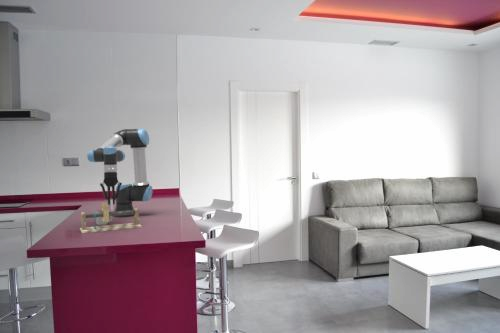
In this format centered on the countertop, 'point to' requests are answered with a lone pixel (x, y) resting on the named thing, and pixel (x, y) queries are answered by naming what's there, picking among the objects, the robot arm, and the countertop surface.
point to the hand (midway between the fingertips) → (111, 210)
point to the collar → (105, 212)
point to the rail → (110, 227)
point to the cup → (99, 219)
